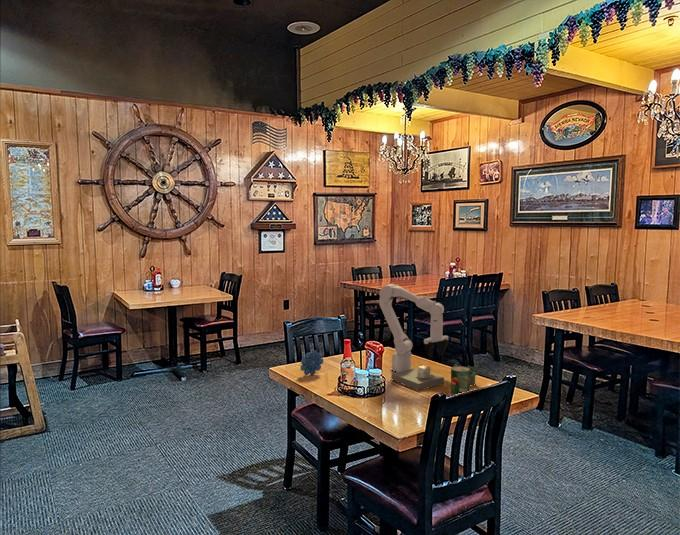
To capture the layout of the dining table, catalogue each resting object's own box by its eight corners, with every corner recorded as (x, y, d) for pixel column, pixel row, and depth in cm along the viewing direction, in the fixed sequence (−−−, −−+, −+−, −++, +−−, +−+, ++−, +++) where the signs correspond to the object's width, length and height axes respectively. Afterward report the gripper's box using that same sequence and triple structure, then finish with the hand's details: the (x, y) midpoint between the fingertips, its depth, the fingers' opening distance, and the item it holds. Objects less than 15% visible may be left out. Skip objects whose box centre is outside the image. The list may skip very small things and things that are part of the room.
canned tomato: (446, 392, 216) (447, 367, 215) (458, 389, 221) (458, 364, 220) (461, 397, 210) (461, 372, 209) (473, 394, 214) (473, 368, 214)
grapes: (320, 371, 248) (320, 347, 247) (325, 375, 241) (325, 350, 240) (298, 373, 244) (298, 349, 243) (301, 377, 237) (301, 352, 236)
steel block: (417, 383, 228) (417, 366, 227) (423, 382, 230) (423, 365, 230) (423, 386, 225) (423, 368, 224) (429, 384, 227) (430, 367, 226)
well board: (391, 379, 234) (391, 373, 233) (416, 374, 243) (416, 368, 243) (418, 390, 219) (418, 383, 219) (443, 383, 228) (444, 377, 228)
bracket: (479, 384, 227) (480, 365, 227) (464, 387, 223) (465, 368, 222) (465, 379, 235) (465, 360, 235) (450, 382, 231) (451, 363, 230)
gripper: (431, 331, 231) (431, 360, 232) (453, 328, 239) (452, 356, 241) (421, 329, 237) (420, 357, 238) (442, 325, 245) (441, 353, 246)
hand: (436, 356), depth 240 cm, fingers open, 7 cm apart
